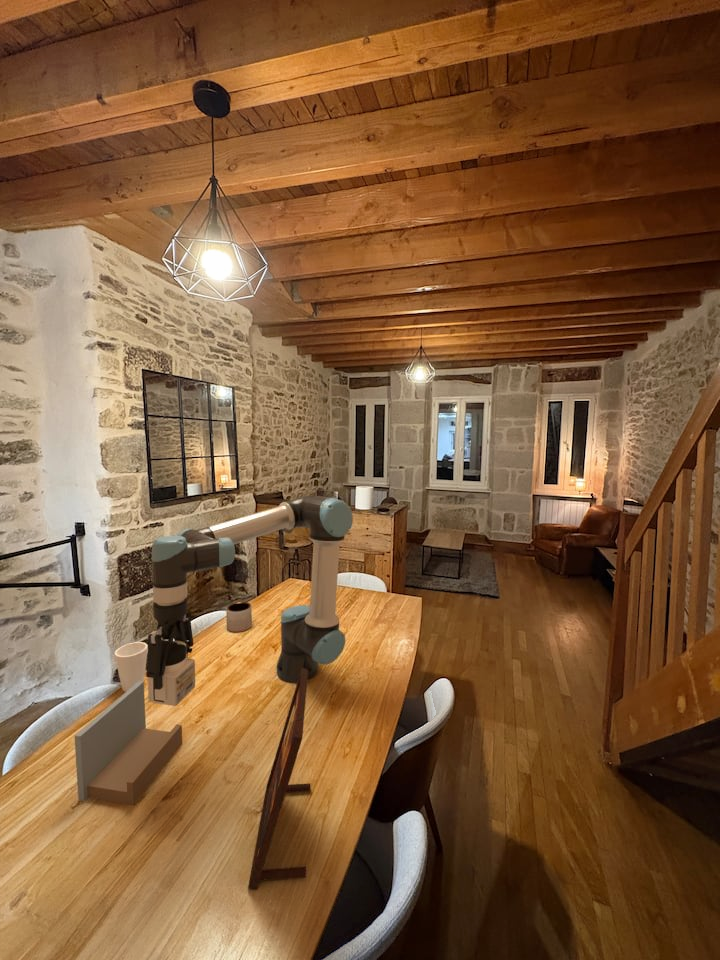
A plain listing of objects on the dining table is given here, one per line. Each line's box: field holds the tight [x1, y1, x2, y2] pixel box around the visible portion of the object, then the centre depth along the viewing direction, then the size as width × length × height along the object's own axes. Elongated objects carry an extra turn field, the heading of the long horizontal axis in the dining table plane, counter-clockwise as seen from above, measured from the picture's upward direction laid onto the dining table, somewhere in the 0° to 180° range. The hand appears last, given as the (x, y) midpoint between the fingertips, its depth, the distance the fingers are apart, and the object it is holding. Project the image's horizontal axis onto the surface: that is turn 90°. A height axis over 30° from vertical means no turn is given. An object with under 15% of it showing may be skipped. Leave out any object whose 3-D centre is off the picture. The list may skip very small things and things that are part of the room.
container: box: [147, 640, 196, 707], centre depth 94 cm, size 8×8×13 cm
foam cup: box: [114, 641, 149, 693], centre depth 127 cm, size 10×9×13 cm
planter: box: [225, 601, 253, 633], centre depth 169 cm, size 11×11×10 cm
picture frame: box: [247, 668, 312, 891], centre depth 79 cm, size 21×11×30 cm, turn 5°
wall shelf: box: [74, 681, 183, 806], centre depth 95 cm, size 13×20×16 cm, turn 171°
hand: (172, 687), depth 95 cm, fingers closed on container, 8 cm apart
